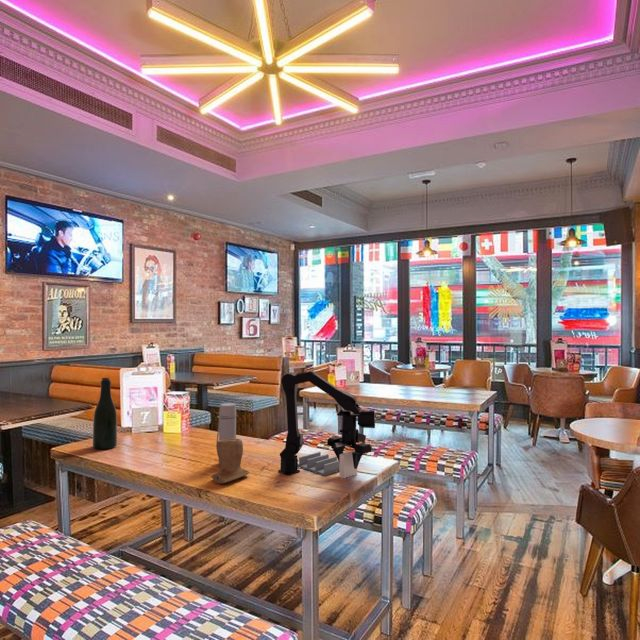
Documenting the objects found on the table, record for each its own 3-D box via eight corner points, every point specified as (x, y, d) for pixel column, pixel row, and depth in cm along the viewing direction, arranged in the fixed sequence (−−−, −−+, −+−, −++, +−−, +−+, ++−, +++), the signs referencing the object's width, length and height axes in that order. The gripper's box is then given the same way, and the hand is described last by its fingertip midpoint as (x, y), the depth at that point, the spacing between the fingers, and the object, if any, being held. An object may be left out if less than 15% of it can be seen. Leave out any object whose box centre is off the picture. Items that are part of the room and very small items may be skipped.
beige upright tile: (343, 478, 180) (344, 455, 180) (339, 477, 182) (339, 454, 182) (357, 474, 186) (357, 451, 186) (352, 472, 187) (352, 450, 187)
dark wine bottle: (119, 447, 220) (120, 377, 220) (95, 451, 213) (97, 379, 214) (113, 443, 228) (114, 375, 228) (89, 446, 221) (90, 377, 222)
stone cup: (231, 470, 188) (232, 433, 188) (253, 476, 182) (254, 437, 182) (202, 480, 176) (203, 440, 176) (224, 487, 169) (225, 445, 169)
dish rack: (324, 475, 183) (324, 465, 183) (296, 466, 195) (296, 457, 195) (347, 468, 193) (347, 458, 193) (320, 459, 204) (320, 451, 205)
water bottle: (239, 462, 199) (240, 403, 200) (228, 467, 192) (229, 406, 193) (222, 459, 203) (222, 402, 204) (210, 464, 196) (211, 404, 196)
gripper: (380, 427, 183) (379, 467, 183) (344, 420, 196) (344, 457, 196) (362, 432, 175) (361, 473, 175) (326, 424, 188) (326, 463, 188)
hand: (348, 466), depth 184 cm, fingers open, 7 cm apart
